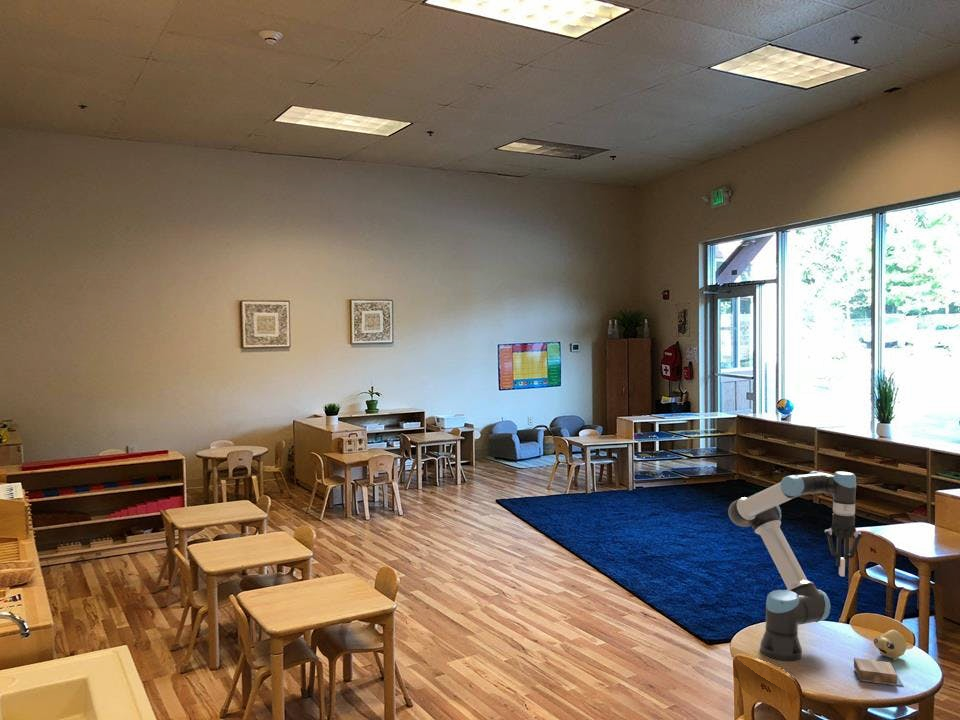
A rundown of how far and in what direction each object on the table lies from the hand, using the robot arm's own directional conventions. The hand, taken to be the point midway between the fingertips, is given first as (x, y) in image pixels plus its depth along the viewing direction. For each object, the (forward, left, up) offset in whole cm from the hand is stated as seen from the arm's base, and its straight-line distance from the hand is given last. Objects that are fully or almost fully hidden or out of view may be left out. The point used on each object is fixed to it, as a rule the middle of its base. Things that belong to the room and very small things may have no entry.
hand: (841, 575), depth 275 cm
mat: (+12, -6, -34) cm, 37 cm away
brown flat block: (+5, -8, -32) cm, 33 cm away
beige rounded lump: (+20, +12, -35) cm, 42 cm away
